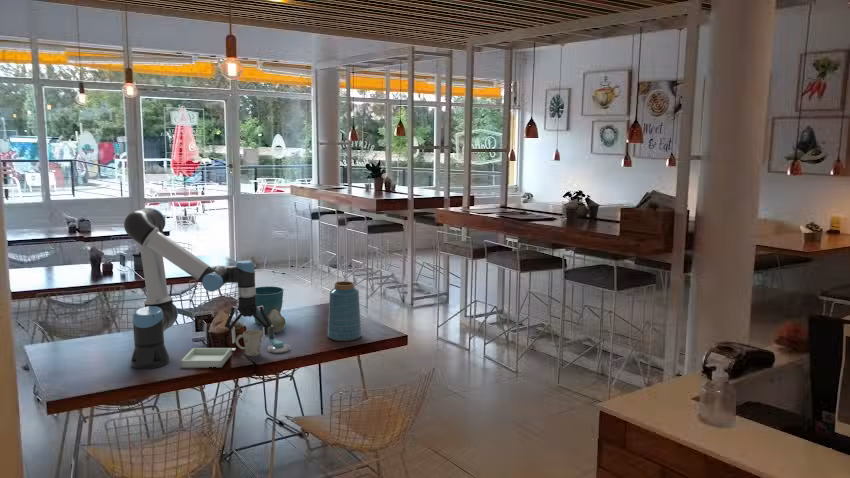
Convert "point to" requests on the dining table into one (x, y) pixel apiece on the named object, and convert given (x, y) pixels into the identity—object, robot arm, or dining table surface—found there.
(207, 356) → the tray
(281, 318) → the fruit
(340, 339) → the vase
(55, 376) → the dining table surface
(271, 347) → the pedestal
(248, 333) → the mug
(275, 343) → the crank
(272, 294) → the flower pot
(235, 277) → the robot arm
